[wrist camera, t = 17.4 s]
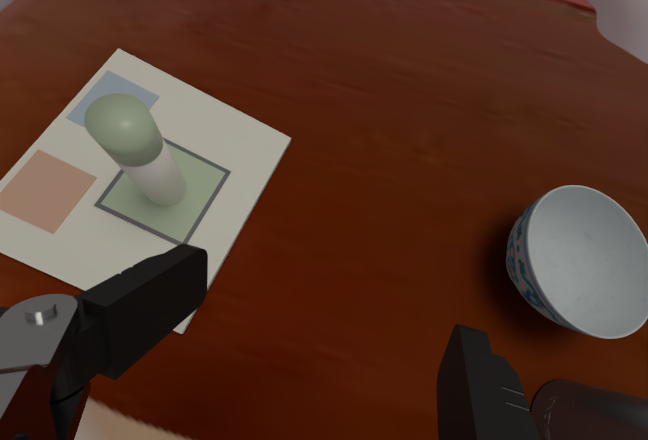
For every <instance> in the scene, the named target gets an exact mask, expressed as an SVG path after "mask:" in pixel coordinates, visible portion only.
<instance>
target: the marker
mask: <svg viewBox="0 0 648 440" xmlns="http://www.w3.org/2000/svg"><path fill="white" fill-rule="evenodd" d="M84 124H85V127H86V130H87V131H88V133H89V134H90V135H91V137H92V138H93V139H94V140H95V141H96V142H97V143H98V144H99V145H100V146H101V147H102V148H103V150H104V151H105V152H106V153H107V154H108V155H109V156H110V157H111V158H112V159H113V160H114V161H115V163H116V164H117V165H118V166H119V167H120V168H121V169H122V170H123V171H124V172H125V173H126V174H127V175H128V177H129V178H130V179H131V180H132V181H133V182H134V183H135V184H136V185H137V186H138V187H139V188H140V190H141V191H142V192H143V193H144V194H145V195H146V196H147V197H148V198H149V199H150V200H151V201H152V202H153V203H155V204H157V205H160V206H171V205H174V204H176V203H178V202H180V201H181V200H182V199H183V197H184V196H185V194H186V190H187V186H186V182H185V180H184V178H183V176H182V174H181V172H180V170H179V168H178V166H177V164H176V162H175V160H174V158H173V156H172V154H171V152H170V151H169V149H168V147H167V145H166V143H165V141H164V139H163V137H162V135H161V133H160V131H159V129H158V127H157V125H156V123H155V121H154V119H153V117H152V115H151V113H150V111H149V109H148V108H147V106H146V105H145V104H144V103H143V102H142V101H141V100H140V99H138V98H136V97H134V96H132V95H129V94H124V93H112V94H107V95H104V96H101V97H99V98H98V99H96V100H95V101H93V102H92V103H91V104H90V105H89V107H88V108H87V110H86V112H85V116H84Z"/></svg>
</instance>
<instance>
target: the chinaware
mask: <svg viewBox="0 0 648 440" xmlns="http://www.w3.org/2000/svg"><path fill="white" fill-rule="evenodd" d="M506 267H507V271H508V274H509V276H510V278H511V280H512V281H513V283H514V284H515V286H516V288H517V289H518V291H519V292H520V294H521V295H522V296H523V297H524V299H525V300H526V301H527V302H528V303H529V304H530V305H531V306H532V307H533V308H535V309H536V310H537V311H538V312H540V313H541V314H542V315H544V316H545V317H547V318H548V319H550V320H552V321H554V322H555V323H557V324H559V325H562V326H564V327H566V328H568V329H571V330H574V331H577V332H579V333H583V334H586V335H590V336H594V337H598V338H605V339H615V338H621V337H625V336H628V335H630V334H632V333H633V332H635V331H636V330H638V329H639V328H640V327H641V326H642V325H643V324H644V323H645V321H646V320H647V318H648V244H647V242H646V240H645V238H644V236H643V234H642V232H641V231H640V229H639V227H638V226H637V224H636V223H635V222H634V220H633V219H632V218H631V217H630V215H629V214H628V213H627V212H626V211H625V210H624V209H623V208H622V207H621V206H620V205H619V204H618V203H616V202H615V201H614V200H612V199H611V198H610V197H608V196H606V195H605V194H603V193H601V192H599V191H597V190H594V189H592V188H589V187H585V186H578V185H568V186H562V187H559V188H556V189H553V190H551V191H549V192H548V193H546V194H545V195H543V196H541V197H540V198H539V199H537V200H536V201H535V202H533V203H532V204H531V205H530V206H529V207H528V208H527V209H526V210H525V211H524V212H523V213H522V214H521V215H520V217H519V218H518V219H517V221H516V222H515V224H514V226H513V228H512V230H511V233H510V235H509V239H508V243H507V256H506Z"/></svg>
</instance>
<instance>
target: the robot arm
mask: <svg viewBox="0 0 648 440" xmlns="http://www.w3.org/2000/svg"><path fill="white" fill-rule="evenodd" d="M207 279H208V254H207V251H206V250H205V249H202V248H199V247H195V246H192V245H189V244H185V243H183V244H180V245H178V246H176V247H174V248H173V249H171V250H169V251H167V252H165V253H163V254H159V255H156V256H152V257H149V258H146V259H144V260H142V261H140V262H139V263H137V264H135V265H133V267H129V268H127V269H125V270H124V271H122V272H121V274H119V273H118V274H116V275H114V276H112V277H110V278H109V279H107V280H105V281H103V282H101V283H99V284H97V285H95V286H94V287H92V288H90V289H88V290H86V291H84V292H82V293H81V294H79V295H77V296H75V297H72V296H69V295H64V294H49V295H42V296H38V297H34V298H31V299H28V300H25V301H23V302H20V303H18V304H16V305H15V306H13V307H11V308H7V307H0V440H74V438H75V435H76V432H77V429H78V426H79V423H80V420H81V417H82V413H83V411H84V407H85V404H86V401H87V398H88V395H89V392H90V388H91V383H90V380H91V379H92V378H93V377H94V376H96V375H97V374H98V373H99V374H101V375H103V376H106V377H108V378H110V379H113V380H116V379H117V378H118V377H120V376H121V375H122V374H123V373H124V372H125V371H126V370H128V369H129V368H130V367H131V366H132V365H133V364H134V363H136V362H137V361H138V360H139V359H140V358H141V357H143V356H144V355H145V354H146V353H147V352H148V351H149V350H151V349H152V348H153V347H154V346H155V345H156V344H157V343H159V342H160V341H161V340H162V339H163V338H164V337H165V336H167V335H168V334H169V333H170V332H171V331H172V330H173V329H175V328H176V327H177V326H178V325H179V324H180V323H181V322H183V321H184V320H185V319H186V318H187V317H188V316H189V315H191V314H192V313H193V312H194V311H195V310H196V309H197V308H199V307H200V305H201V304H202V303H203V301H204V299H205V297H206V294H207ZM437 412H438V437H439V440H648V399H647V398H642V397H638V396H634V395H629V394H625V393H621V392H616V391H612V390H607V389H604V388H599V387H595V386H590V385H586V384H581V383H577V382H572V381H568V380H554V381H551V382H549V383H547V384H546V385H545V386H543V387H542V388H541V390H540V391H539V392H538V393H537V395H536V397H535V399H534V402H533V406H532V409H531V412H529V405H528V403H527V400H526V397H525V396H524V391H523V388H522V385H521V382H520V380H519V377H518V374H517V373H516V372H515V371H514V369H513V368H512V367H511V366H510V364H509V363H508V362H507V360H506V359H505V358H504V357H501V356H498V355H495V354H492V350H491V347H490V343H489V339H488V336H487V333H486V332H484V331H480V330H477V329H473V328H470V327H466V326H463V325H460V324H456V325H455V327H454V329H453V331H452V334H451V337H450V340H449V342H448V345H447V348H446V351H445V353H444V356H443V359H442V362H441V364H440V368H439V372H438V377H437Z"/></svg>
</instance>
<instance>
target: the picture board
mask: <svg viewBox="0 0 648 440" xmlns="http://www.w3.org/2000/svg"><path fill="white" fill-rule="evenodd" d="M112 93H124V94H129V95H132V96H134V97H136V98H138V99H140V100H141V101H142V102H143V103H144V104H145V105H146V106H147V108H148V109H149V111H150V113H151V115H152V117H153V119H154V121H155V123H156V125H157V127H158V129H159V131H160V133H161V135H162V137H163V139H164V141H165V143H166V145H167V147H168V149H169V151H170V152H171V154H172V156H173V158H174V160H175V162H176V164H177V166H178V168H179V170H180V172H181V174H182V176H183V178H184V180H185V182H186V186H187V190H186V194H185V196H184V197H183V199H182V200H181V201H180V202H178V203H176V204H174V205H171V206H160V205H157V204H155V203H153V202H152V201H151V200H150V199H149V198H148V197H147V196H146V195H145V194H144V193H143V192H142V191H141V190H140V188H139V187H138V186H137V185H136V184H135V183H134V182H133V181H132V180H131V179H130V178H129V177H128V175H127V174H126V173H125V172H124V171H123V170H122V169H121V168H120V167H119V166H118V165H117V164H116V163H115V161H114V160H113V159H112V158H111V157H110V156H109V155H108V154H107V153H106V152H105V151H104V150H103V148H102V147H101V146H100V145H99V144H98V143H97V142H96V141H95V140H94V139H93V138H92V137H91V135H90V134H89V133H88V131H87V130H86V127H85V124H84V116H85V112H86V110H87V108H88V107H89V105H90V104H91V103H92V102H93V101H95V100H96V99H98V98H99V97H101V96H104V95H107V94H112ZM290 141H291V138H290V137H288V136H286V135H284V134H282V133H280V132H279V131H277V130H275V129H273V128H271V127H269V126H267V125H265V124H263V123H261V122H259V121H257V120H255V119H254V118H252V117H250V116H248V115H246V114H244V113H242V112H240V111H238V110H236V109H234V108H232V107H230V106H228V105H227V104H225V103H223V102H221V101H219V100H217V99H215V98H213V97H211V96H209V95H207V94H205V93H203V92H201V91H200V90H198V89H196V88H194V87H192V86H190V85H188V84H186V83H184V82H182V81H180V80H178V79H176V78H175V77H173V76H171V75H169V74H167V73H165V72H163V71H161V70H159V69H157V68H155V67H153V66H151V65H149V64H148V63H146V62H144V61H142V60H140V59H138V58H136V57H134V56H132V55H130V54H128V53H126V52H124V51H122V50H121V49H119V48H118V49H117V51H116V52H115V53H114V54H113V55H112V56H111V57H110V58H109V60H108V61H107V62H106V63H105V64H104V65H103V66H102V67H101V69H100V70H99V71H98V72H97V73H96V74H95V75H94V76H93V78H92V79H91V80H90V81H89V82H88V83H87V84H86V85H85V87H84V88H83V89H82V90H81V91H80V92H79V93H78V94H77V96H76V97H75V98H74V99H73V100H72V101H71V102H70V103H69V105H68V106H67V107H66V108H65V109H64V110H63V111H62V112H61V114H60V115H59V116H58V117H57V118H56V119H55V120H54V121H53V123H52V124H51V125H50V126H49V127H48V128H47V129H46V130H45V132H44V133H43V134H42V135H41V136H40V137H39V138H38V139H37V141H36V142H35V143H34V144H33V145H32V146H31V147H30V148H29V150H28V151H27V152H26V153H25V154H24V155H23V156H22V157H21V159H20V160H19V161H18V162H17V163H16V164H15V165H14V166H13V168H12V169H11V170H10V171H9V172H8V173H7V174H6V175H5V177H4V178H3V179H2V180H1V181H0V253H3V254H5V255H7V256H9V257H12V258H14V259H16V260H18V261H20V262H23V263H25V264H27V265H29V266H31V267H34V268H36V269H38V270H40V271H43V272H45V273H47V274H49V275H51V276H54V277H56V278H58V279H60V280H63V281H65V282H67V283H69V284H71V285H74V286H76V287H78V288H80V289H82V290H85V291H86V290H88V289H90V288H92V287H94V286H95V285H97V284H99V283H101V282H103V281H105V280H107V279H109V278H110V277H112V276H114V275H116V274H118V273H119V274H121V272H122V271H124V270H125V269H127V268H129V267H133V265H135V264H137V263H139V262H140V261H142V260H144V259H146V258H149V257H152V256H156V255H159V254H163V253H165V252H167V251H169V250H171V249H173V248H174V247H176V246H178V245H180V244H183V243H185V244H189V245H192V246H195V247H199V248H202V249H205V250H206V251H207V254H208V279H207V291H208V289H209V287H210V285H211V284H212V282H213V280H214V278H215V276H216V275H217V273H218V271H219V269H220V267H221V266H222V264H223V262H224V260H225V258H226V257H227V255H228V253H229V251H230V249H231V248H232V246H233V244H234V242H235V240H236V239H237V237H238V235H239V233H240V232H241V230H242V228H243V226H244V224H245V223H246V221H247V219H248V217H249V215H250V214H251V212H252V210H253V208H254V206H255V205H256V203H257V201H258V199H259V197H260V196H261V194H262V192H263V190H264V188H265V187H266V185H267V183H268V181H269V180H270V178H271V176H272V174H273V172H274V171H275V169H276V167H277V165H278V163H279V162H280V160H281V158H282V156H283V154H284V153H285V151H286V149H287V147H288V145H289V144H290ZM197 309H198V308H197ZM197 309H196V310H197ZM196 310H195V311H194V312H193V313H192V314H191V315H189V316H188V317H187V318H186V319H185V320H184V321H183V322H181V323H180V324H179V325H178V326H177V327H176V328H175V329H173V331H176V332H178V333H180V334H183V333H184V332H185V330H186V328H187V327H188V325H189V323H190V321H191V319H192V318H193V316H194V314H195V312H196Z"/></svg>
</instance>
